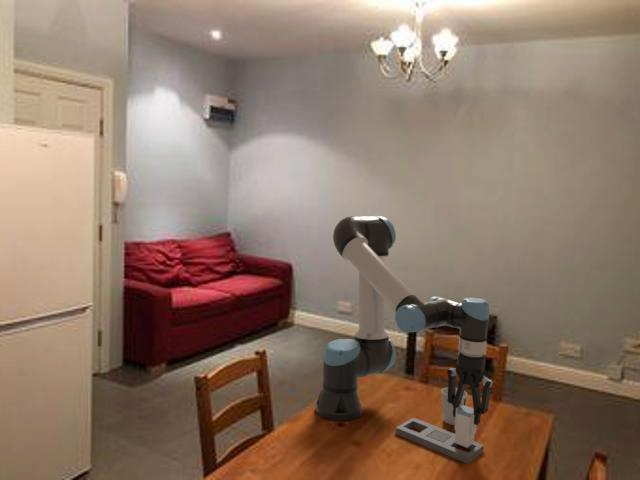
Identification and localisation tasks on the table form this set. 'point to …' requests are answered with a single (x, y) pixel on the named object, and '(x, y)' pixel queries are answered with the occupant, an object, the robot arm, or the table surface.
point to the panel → (438, 440)
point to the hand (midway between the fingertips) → (465, 431)
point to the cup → (450, 406)
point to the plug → (464, 426)
